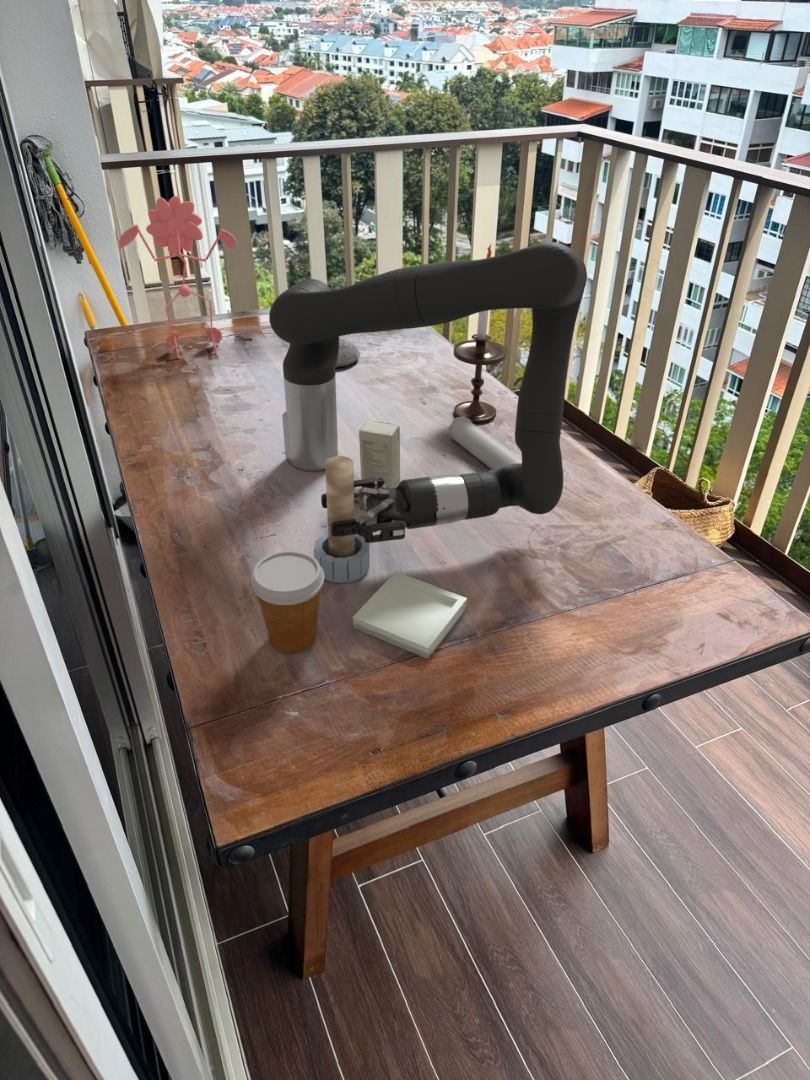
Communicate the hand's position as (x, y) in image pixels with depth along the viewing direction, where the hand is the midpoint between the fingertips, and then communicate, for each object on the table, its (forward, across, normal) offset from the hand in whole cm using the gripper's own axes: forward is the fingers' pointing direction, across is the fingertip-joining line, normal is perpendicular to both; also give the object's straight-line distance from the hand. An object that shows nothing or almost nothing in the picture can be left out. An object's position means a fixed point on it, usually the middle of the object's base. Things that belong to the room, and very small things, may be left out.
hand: (326, 515), depth 111 cm
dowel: (-2, 0, +9) cm, 10 cm away
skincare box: (-13, -21, +10) cm, 27 cm away
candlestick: (-40, -45, +10) cm, 61 cm away
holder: (-2, 0, +10) cm, 10 cm away
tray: (-9, +14, +10) cm, 20 cm away
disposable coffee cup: (+8, +14, +10) cm, 19 cm away
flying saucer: (-16, -81, +10) cm, 83 cm away
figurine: (+16, -96, +10) cm, 98 cm away
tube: (-37, -24, +10) cm, 45 cm away
